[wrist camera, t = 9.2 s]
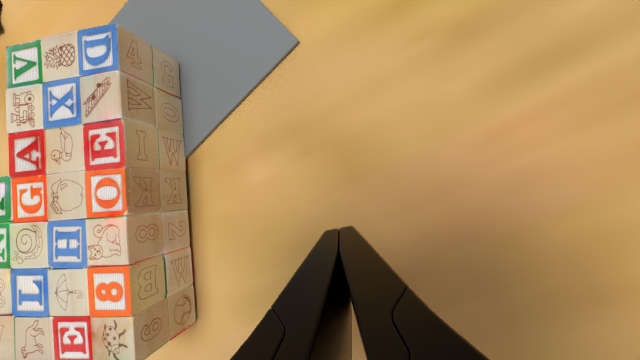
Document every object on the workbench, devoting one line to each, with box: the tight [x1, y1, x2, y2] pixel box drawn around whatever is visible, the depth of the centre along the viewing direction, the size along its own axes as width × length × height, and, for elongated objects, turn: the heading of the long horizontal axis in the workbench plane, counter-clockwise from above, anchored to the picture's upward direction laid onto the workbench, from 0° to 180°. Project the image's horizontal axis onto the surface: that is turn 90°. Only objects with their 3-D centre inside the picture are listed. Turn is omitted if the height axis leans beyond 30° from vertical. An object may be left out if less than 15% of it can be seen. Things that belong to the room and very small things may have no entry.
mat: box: [108, 0, 300, 160], centre depth 25 cm, size 14×24×1 cm, turn 132°
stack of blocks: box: [0, 23, 196, 360], centre depth 22 cm, size 21×6×12 cm
